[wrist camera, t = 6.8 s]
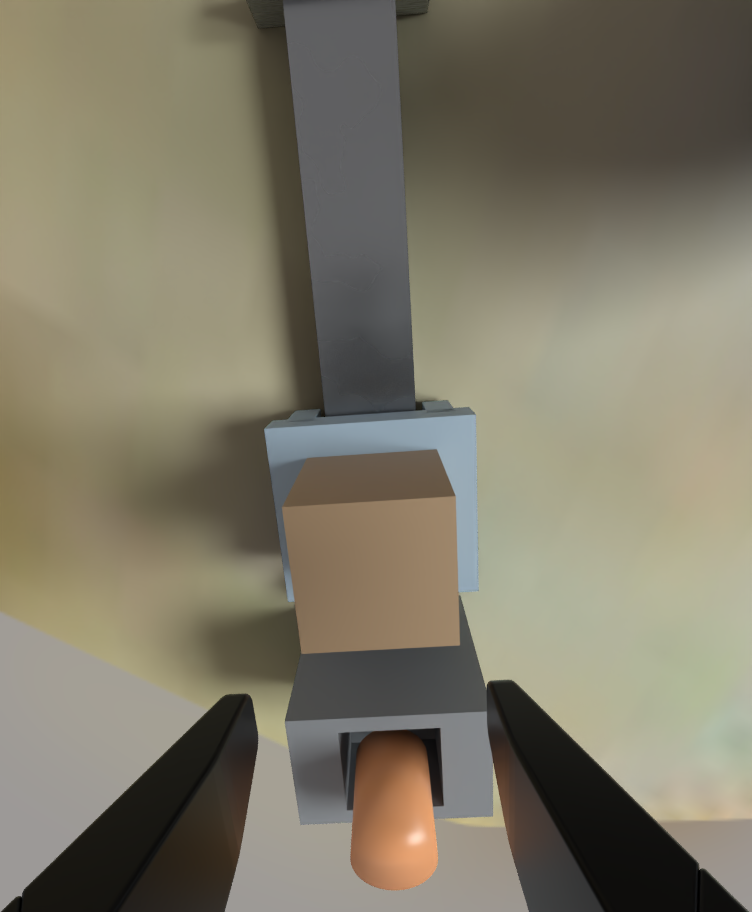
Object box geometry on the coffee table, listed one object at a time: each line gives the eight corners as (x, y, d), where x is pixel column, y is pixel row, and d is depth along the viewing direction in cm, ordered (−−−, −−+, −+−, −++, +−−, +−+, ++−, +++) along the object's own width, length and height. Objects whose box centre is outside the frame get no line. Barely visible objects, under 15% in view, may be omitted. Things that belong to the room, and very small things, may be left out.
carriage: (461, 399, 17) (508, 451, 11) (465, 553, 19) (508, 676, 13) (281, 411, 18) (223, 469, 11) (300, 563, 19) (260, 689, 13)
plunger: (425, 725, 15) (436, 824, 12) (428, 781, 16) (439, 888, 13) (353, 729, 15) (346, 828, 12) (359, 785, 16) (354, 891, 13)
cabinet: (460, 595, 20) (492, 711, 14) (462, 678, 21) (493, 816, 15) (312, 604, 20) (284, 721, 14) (322, 685, 21) (300, 824, 15)
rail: (425, -21, 14) (433, -73, 12) (447, 581, 20) (454, 609, 18) (254, -5, 14) (235, -54, 12) (322, 588, 20) (316, 617, 18)
